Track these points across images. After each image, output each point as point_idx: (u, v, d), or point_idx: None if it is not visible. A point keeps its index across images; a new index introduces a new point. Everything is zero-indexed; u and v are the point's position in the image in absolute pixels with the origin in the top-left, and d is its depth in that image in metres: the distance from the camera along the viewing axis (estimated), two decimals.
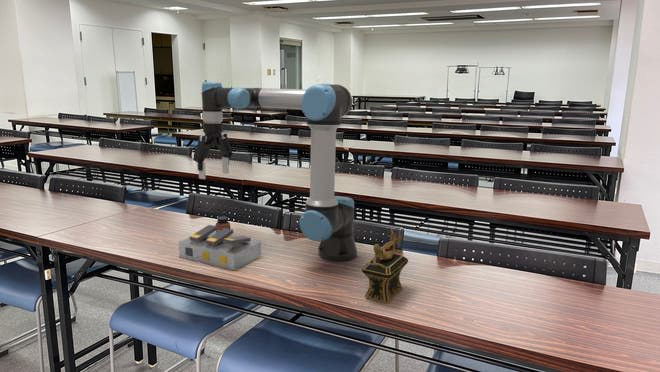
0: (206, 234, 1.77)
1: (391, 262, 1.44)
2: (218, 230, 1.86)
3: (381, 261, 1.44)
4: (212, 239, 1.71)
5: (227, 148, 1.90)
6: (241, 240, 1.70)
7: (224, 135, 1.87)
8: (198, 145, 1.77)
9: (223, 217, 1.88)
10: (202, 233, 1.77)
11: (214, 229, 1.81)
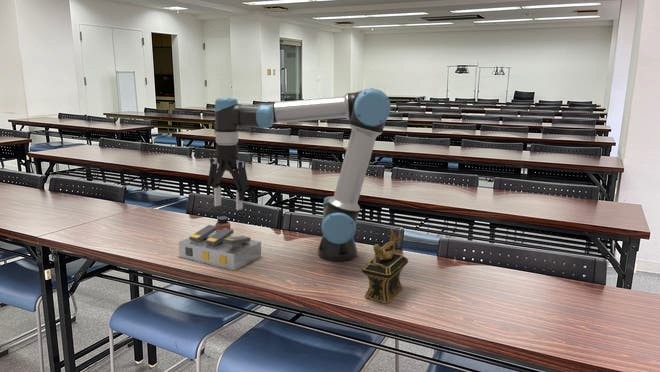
0: (206, 234, 1.77)
1: (391, 262, 1.44)
2: (218, 230, 1.86)
3: (381, 261, 1.44)
4: (212, 239, 1.71)
5: None
6: (241, 240, 1.70)
7: None
8: None
9: (223, 217, 1.88)
10: (202, 233, 1.77)
11: (214, 229, 1.81)
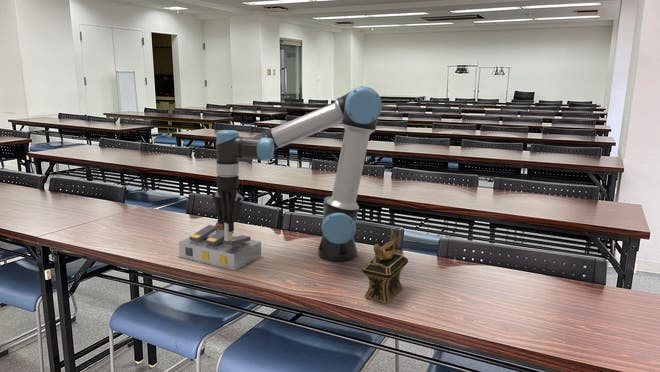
0: (206, 234, 1.77)
1: (391, 262, 1.44)
2: (218, 230, 1.86)
3: (381, 261, 1.44)
4: (212, 239, 1.71)
5: None
6: (241, 240, 1.70)
7: (238, 197, 1.61)
8: None
9: None
10: (202, 233, 1.77)
11: (214, 229, 1.81)
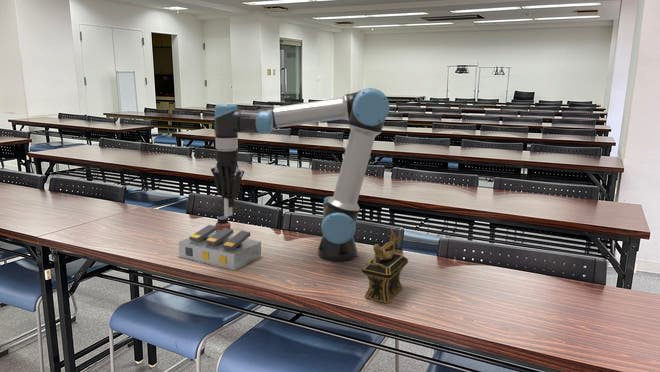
0: (206, 234, 1.77)
1: (391, 262, 1.44)
2: (218, 230, 1.86)
3: (381, 261, 1.44)
4: (212, 239, 1.71)
5: None
6: (241, 240, 1.70)
7: (238, 172, 1.59)
8: None
9: (223, 217, 1.88)
10: (202, 233, 1.77)
11: (214, 229, 1.81)
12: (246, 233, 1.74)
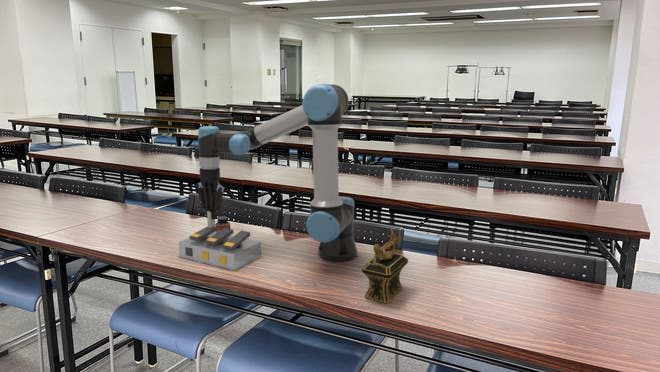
0: (206, 234, 1.77)
1: (391, 262, 1.44)
2: (218, 230, 1.86)
3: (381, 261, 1.44)
4: (212, 239, 1.71)
5: None
6: (241, 240, 1.70)
7: (219, 188, 1.76)
8: None
9: (223, 217, 1.88)
10: (202, 233, 1.77)
11: (214, 230, 1.81)
12: (246, 233, 1.74)
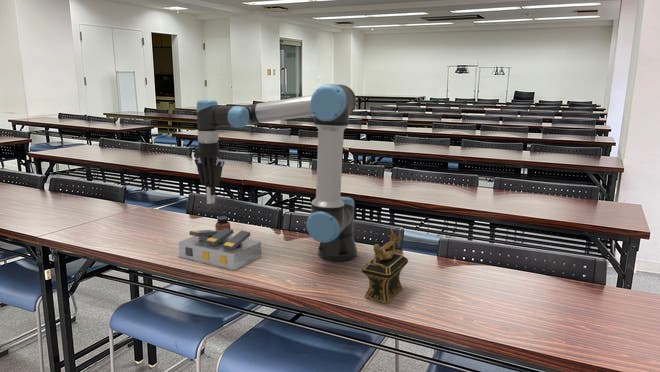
0: (206, 233, 1.77)
1: (391, 262, 1.44)
2: (218, 230, 1.86)
3: (381, 261, 1.44)
4: (212, 239, 1.71)
5: None
6: (241, 240, 1.70)
7: (218, 162, 1.73)
8: None
9: (223, 217, 1.88)
10: (202, 231, 1.77)
11: (214, 233, 1.81)
12: (246, 233, 1.74)
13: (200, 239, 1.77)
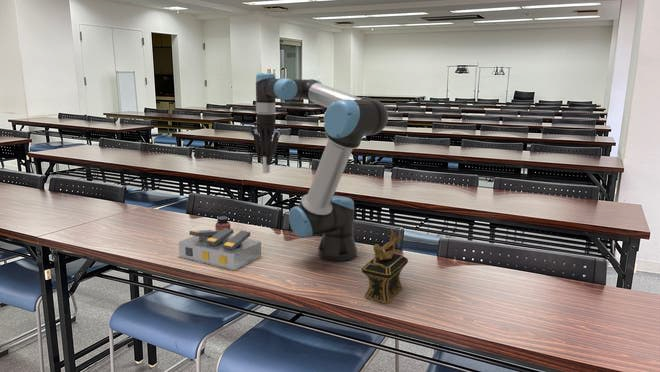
0: (206, 233, 1.77)
1: (391, 262, 1.44)
2: (218, 230, 1.86)
3: (381, 261, 1.44)
4: (212, 239, 1.71)
5: None
6: (241, 240, 1.70)
7: (275, 133, 1.82)
8: None
9: (223, 217, 1.88)
10: (203, 231, 1.77)
11: (214, 233, 1.81)
12: (246, 233, 1.74)
13: (200, 239, 1.77)
